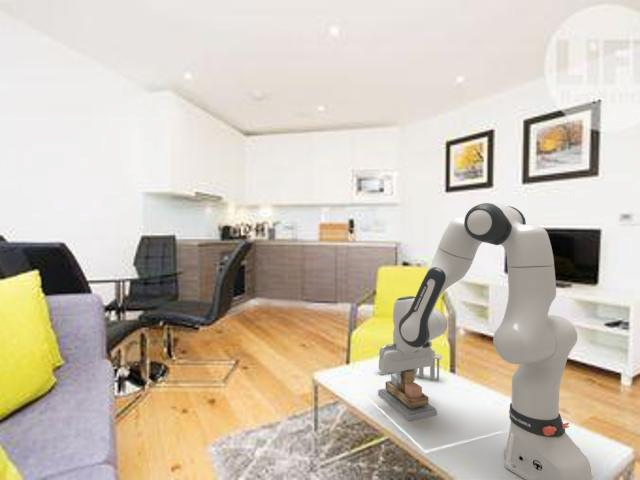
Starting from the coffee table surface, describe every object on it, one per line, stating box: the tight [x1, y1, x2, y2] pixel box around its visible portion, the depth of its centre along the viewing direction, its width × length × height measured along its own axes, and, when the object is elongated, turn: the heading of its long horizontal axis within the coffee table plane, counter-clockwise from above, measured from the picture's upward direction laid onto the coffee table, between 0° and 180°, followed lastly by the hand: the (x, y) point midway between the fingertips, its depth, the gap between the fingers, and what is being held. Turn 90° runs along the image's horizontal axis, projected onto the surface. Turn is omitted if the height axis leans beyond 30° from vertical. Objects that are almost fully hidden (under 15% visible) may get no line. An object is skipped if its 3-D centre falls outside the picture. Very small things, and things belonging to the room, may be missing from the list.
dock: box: [377, 387, 438, 422], centre depth 132 cm, size 20×11×3 cm, turn 20°
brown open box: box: [385, 370, 429, 408], centre depth 132 cm, size 16×7×10 cm, turn 20°
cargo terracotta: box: [405, 382, 423, 399], centre depth 128 cm, size 4×4×4 cm
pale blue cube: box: [390, 374, 398, 389], centre depth 136 cm, size 4×4×4 cm
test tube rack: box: [379, 343, 443, 382], centre depth 156 cm, size 25×4×13 cm, turn 64°
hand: (406, 381), depth 132 cm, fingers closed on brown open box, 3 cm apart
